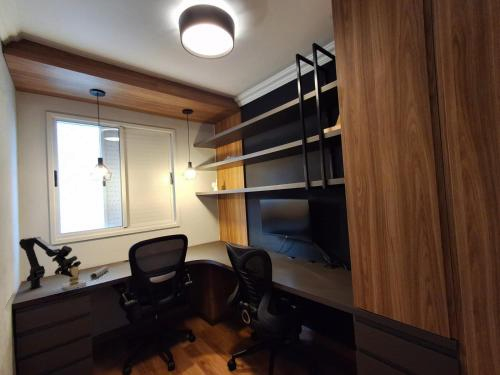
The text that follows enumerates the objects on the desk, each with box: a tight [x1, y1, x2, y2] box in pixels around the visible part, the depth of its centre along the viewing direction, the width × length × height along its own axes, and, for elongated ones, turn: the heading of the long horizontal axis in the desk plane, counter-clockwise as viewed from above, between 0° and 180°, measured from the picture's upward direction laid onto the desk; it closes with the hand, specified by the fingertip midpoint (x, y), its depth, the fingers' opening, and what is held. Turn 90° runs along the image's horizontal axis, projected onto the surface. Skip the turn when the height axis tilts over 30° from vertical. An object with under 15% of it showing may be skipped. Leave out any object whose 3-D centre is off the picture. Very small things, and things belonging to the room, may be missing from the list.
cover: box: [67, 266, 80, 285], centre depth 182 cm, size 7×7×12 cm
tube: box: [89, 265, 109, 280], centre depth 210 cm, size 5×5×25 cm
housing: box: [61, 279, 87, 291], centre depth 181 cm, size 12×12×3 cm
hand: (75, 275), depth 182 cm, fingers closed on cover, 6 cm apart
